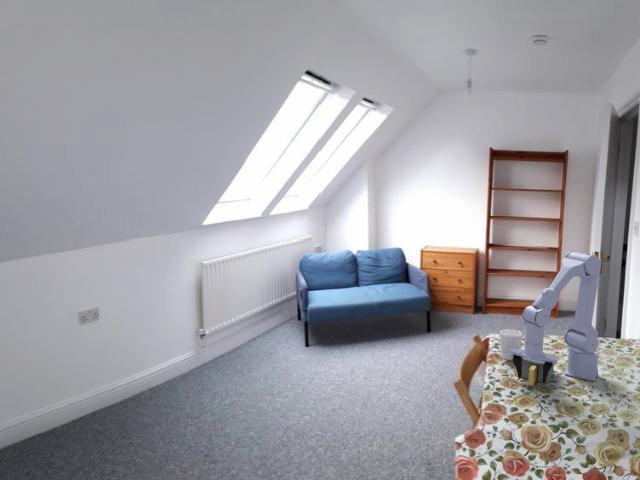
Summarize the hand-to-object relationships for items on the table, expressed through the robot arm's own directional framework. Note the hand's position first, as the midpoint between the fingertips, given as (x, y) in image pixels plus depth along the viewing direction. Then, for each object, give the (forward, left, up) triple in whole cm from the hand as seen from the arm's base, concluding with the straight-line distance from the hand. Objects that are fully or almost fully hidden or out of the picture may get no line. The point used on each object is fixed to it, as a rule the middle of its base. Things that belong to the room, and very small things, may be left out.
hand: (531, 379), depth 163 cm
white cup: (+12, -20, -2) cm, 23 cm away
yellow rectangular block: (0, -4, -1) cm, 4 cm away
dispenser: (0, -9, -2) cm, 9 cm away
